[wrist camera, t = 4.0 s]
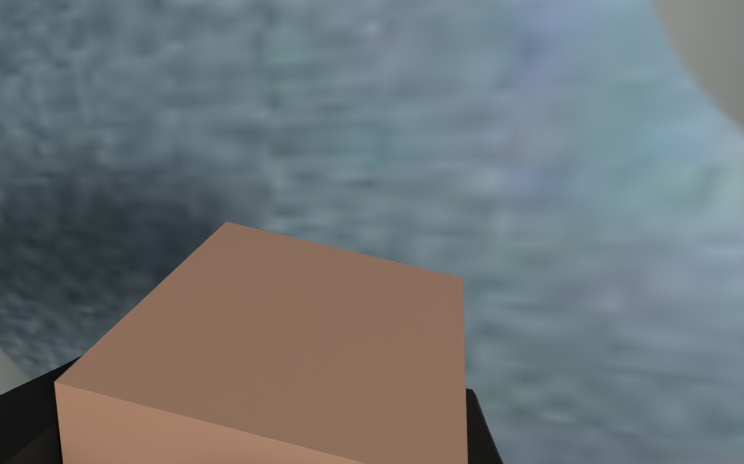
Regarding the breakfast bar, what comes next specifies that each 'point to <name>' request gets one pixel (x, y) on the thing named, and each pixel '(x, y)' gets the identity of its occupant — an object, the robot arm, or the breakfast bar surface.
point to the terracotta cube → (275, 363)
